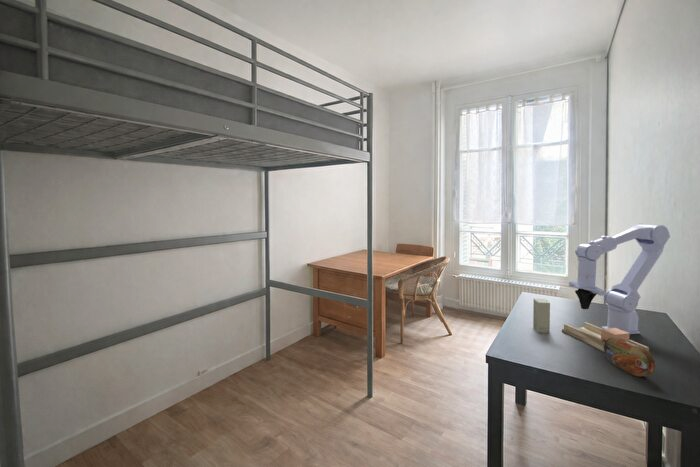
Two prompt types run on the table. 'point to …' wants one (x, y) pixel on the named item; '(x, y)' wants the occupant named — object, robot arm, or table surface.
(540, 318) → the skincare box
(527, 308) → the table surface
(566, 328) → the chute
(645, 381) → the table surface
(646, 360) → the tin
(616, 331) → the block
